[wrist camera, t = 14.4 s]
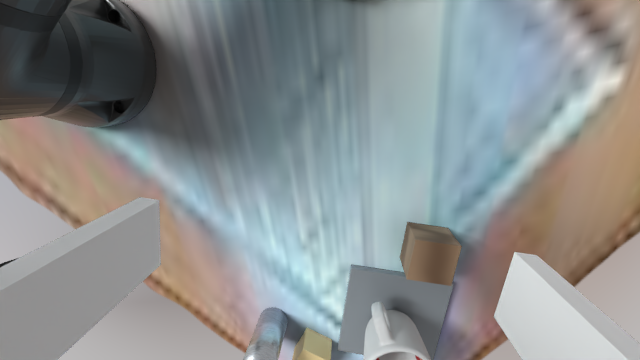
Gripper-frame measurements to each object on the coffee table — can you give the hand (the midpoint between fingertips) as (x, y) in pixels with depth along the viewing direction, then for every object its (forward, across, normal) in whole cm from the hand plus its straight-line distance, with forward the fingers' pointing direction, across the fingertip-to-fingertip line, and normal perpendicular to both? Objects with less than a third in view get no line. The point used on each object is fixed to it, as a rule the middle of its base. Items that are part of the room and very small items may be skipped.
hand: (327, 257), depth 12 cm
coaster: (+27, +10, -22) cm, 36 cm away
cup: (+26, +9, -22) cm, 35 cm away
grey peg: (+27, -6, -26) cm, 38 cm away
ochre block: (+27, 0, -29) cm, 39 cm away
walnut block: (+27, +12, -11) cm, 31 cm away
